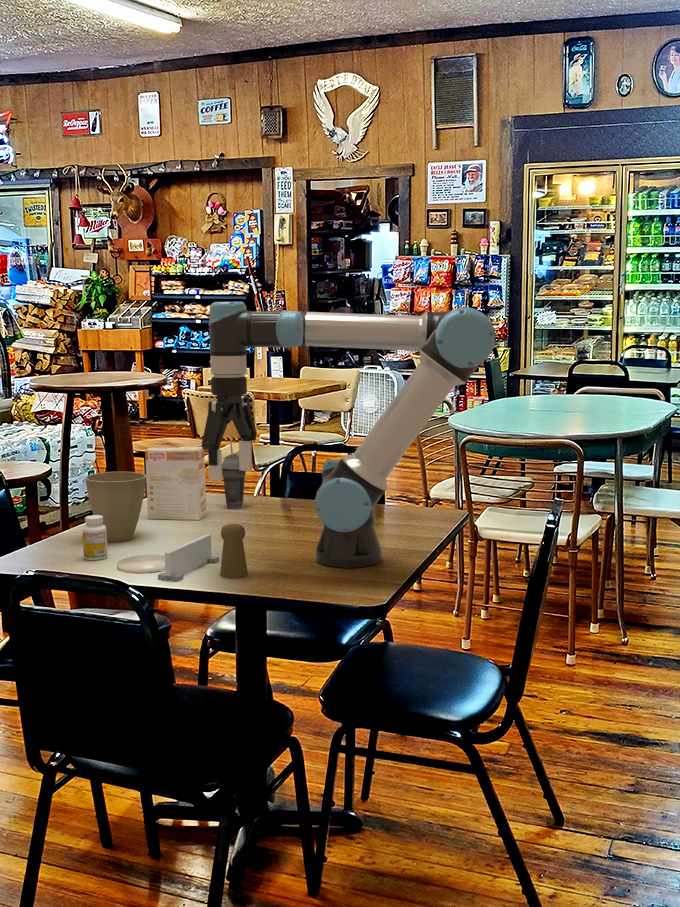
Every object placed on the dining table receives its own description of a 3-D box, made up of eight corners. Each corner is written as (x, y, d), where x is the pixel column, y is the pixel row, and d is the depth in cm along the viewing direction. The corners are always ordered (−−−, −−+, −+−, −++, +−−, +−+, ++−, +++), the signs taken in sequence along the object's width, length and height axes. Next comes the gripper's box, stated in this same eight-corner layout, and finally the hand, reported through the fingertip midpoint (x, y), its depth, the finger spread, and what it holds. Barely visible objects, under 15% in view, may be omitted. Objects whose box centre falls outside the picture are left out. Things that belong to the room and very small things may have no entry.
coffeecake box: (207, 515, 269) (205, 446, 266) (199, 520, 262) (197, 449, 259) (155, 514, 271) (153, 445, 269) (147, 519, 264) (144, 449, 262)
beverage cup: (231, 511, 274) (230, 441, 271) (217, 507, 280) (215, 439, 277) (252, 507, 279) (250, 439, 276) (237, 504, 284) (235, 437, 281)
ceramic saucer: (186, 560, 220) (186, 557, 220) (156, 575, 208) (155, 571, 208) (137, 556, 225) (137, 552, 225) (105, 570, 213) (105, 566, 213)
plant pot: (98, 548, 232) (95, 483, 230) (80, 536, 245) (77, 474, 242) (157, 540, 240) (155, 477, 238) (136, 529, 253) (134, 469, 250)
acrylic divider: (219, 560, 220) (218, 535, 219) (178, 581, 203) (177, 554, 202) (199, 559, 222) (199, 533, 221) (157, 579, 205) (156, 552, 204)
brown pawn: (214, 576, 207) (213, 526, 206) (230, 569, 213) (229, 520, 211) (237, 579, 204) (236, 529, 203) (253, 572, 210) (252, 523, 208)
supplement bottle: (89, 554, 227) (87, 514, 225) (111, 555, 226) (109, 514, 224) (79, 560, 221) (77, 518, 220) (102, 561, 221) (100, 519, 219)
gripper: (240, 371, 215) (242, 465, 218) (182, 379, 192) (185, 484, 195) (270, 372, 212) (272, 467, 216) (215, 380, 190) (218, 486, 193)
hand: (231, 475), depth 205 cm, fingers open, 13 cm apart
